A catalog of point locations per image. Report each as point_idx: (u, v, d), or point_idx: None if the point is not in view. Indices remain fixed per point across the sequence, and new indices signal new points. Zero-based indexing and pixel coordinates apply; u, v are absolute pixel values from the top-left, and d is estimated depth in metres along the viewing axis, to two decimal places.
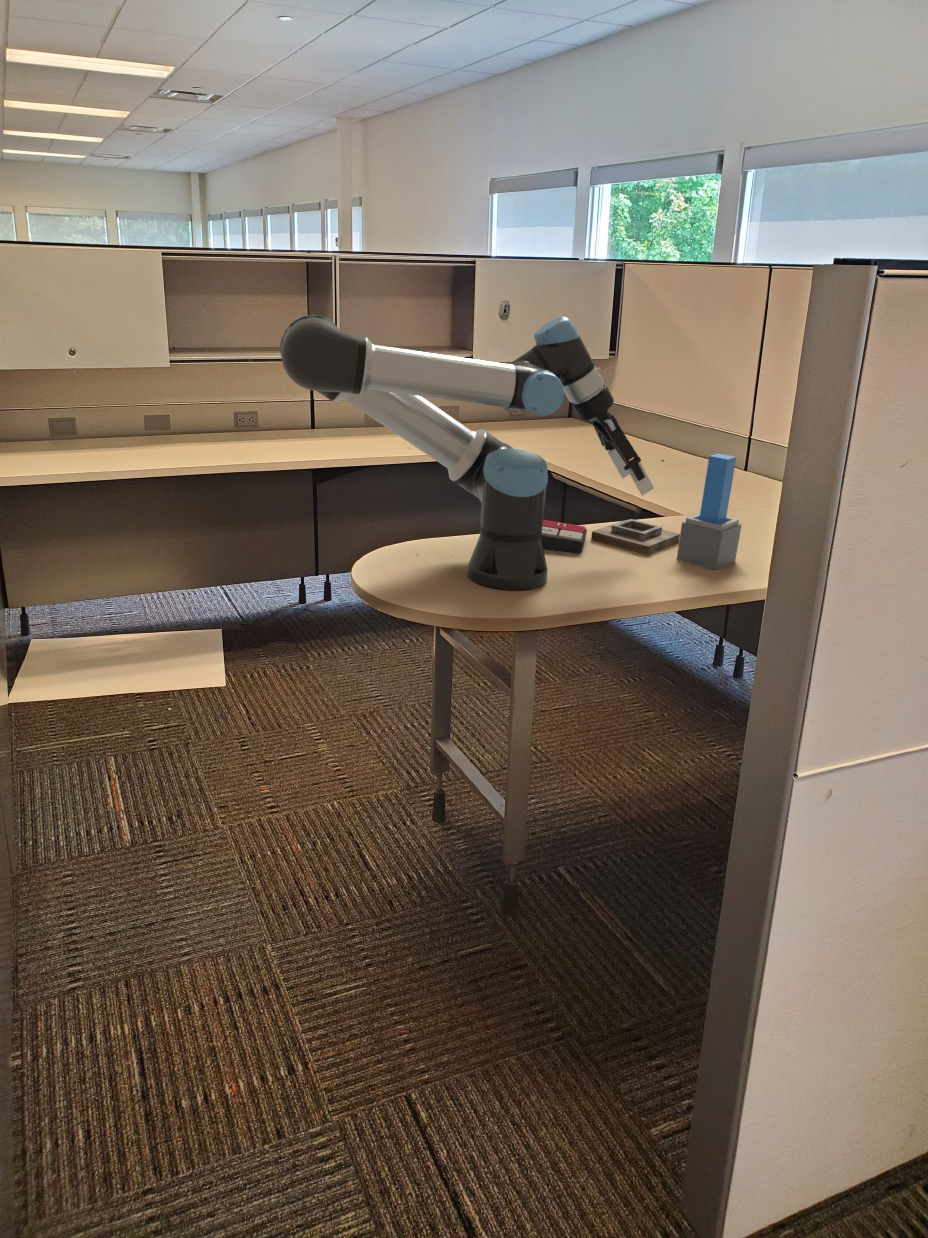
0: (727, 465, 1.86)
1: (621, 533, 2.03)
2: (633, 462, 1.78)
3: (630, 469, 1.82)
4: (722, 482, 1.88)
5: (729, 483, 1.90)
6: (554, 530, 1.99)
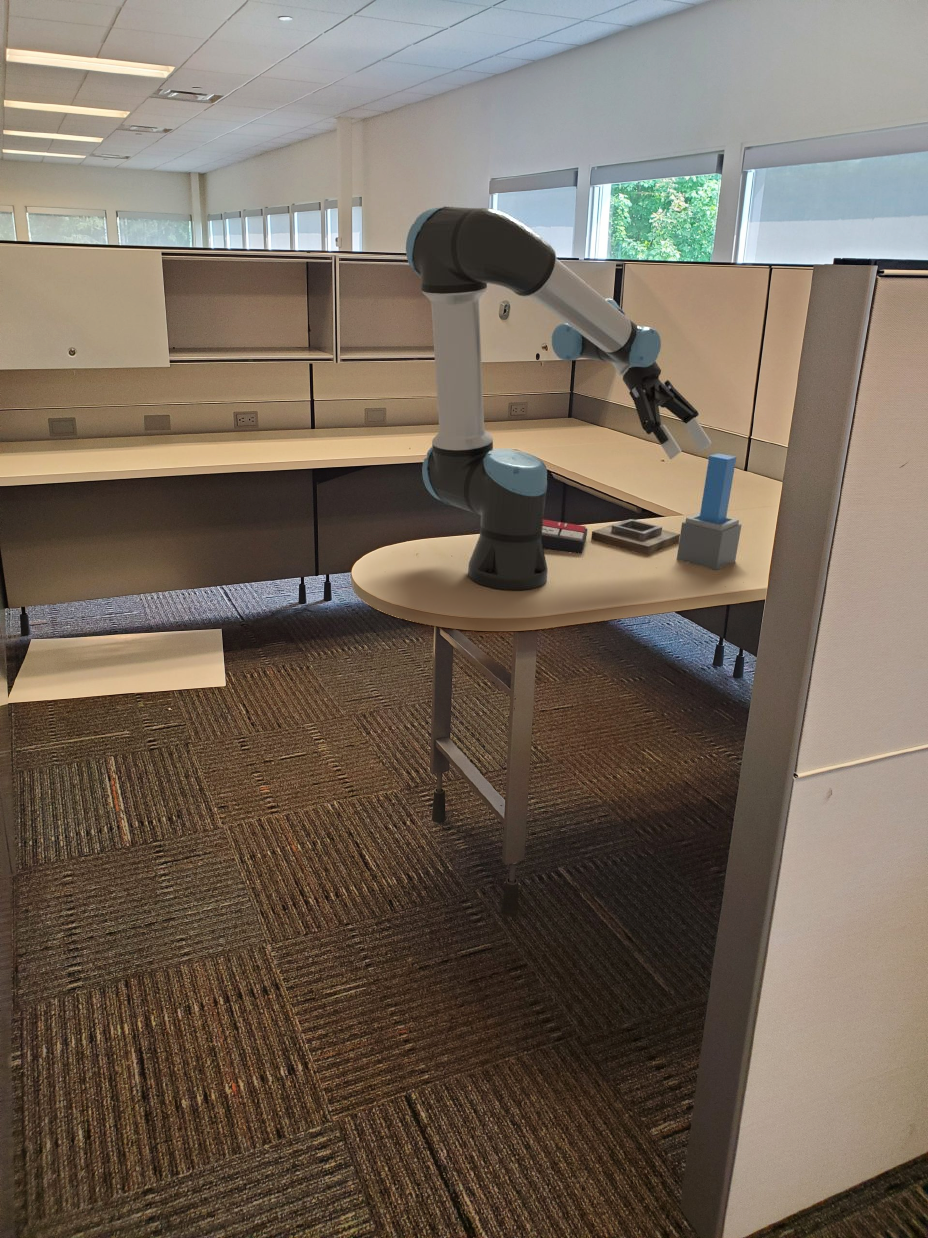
0: (727, 465, 1.86)
1: (621, 533, 2.03)
2: (646, 424, 1.87)
3: None
4: (722, 482, 1.88)
5: (729, 483, 1.90)
6: (555, 530, 1.99)
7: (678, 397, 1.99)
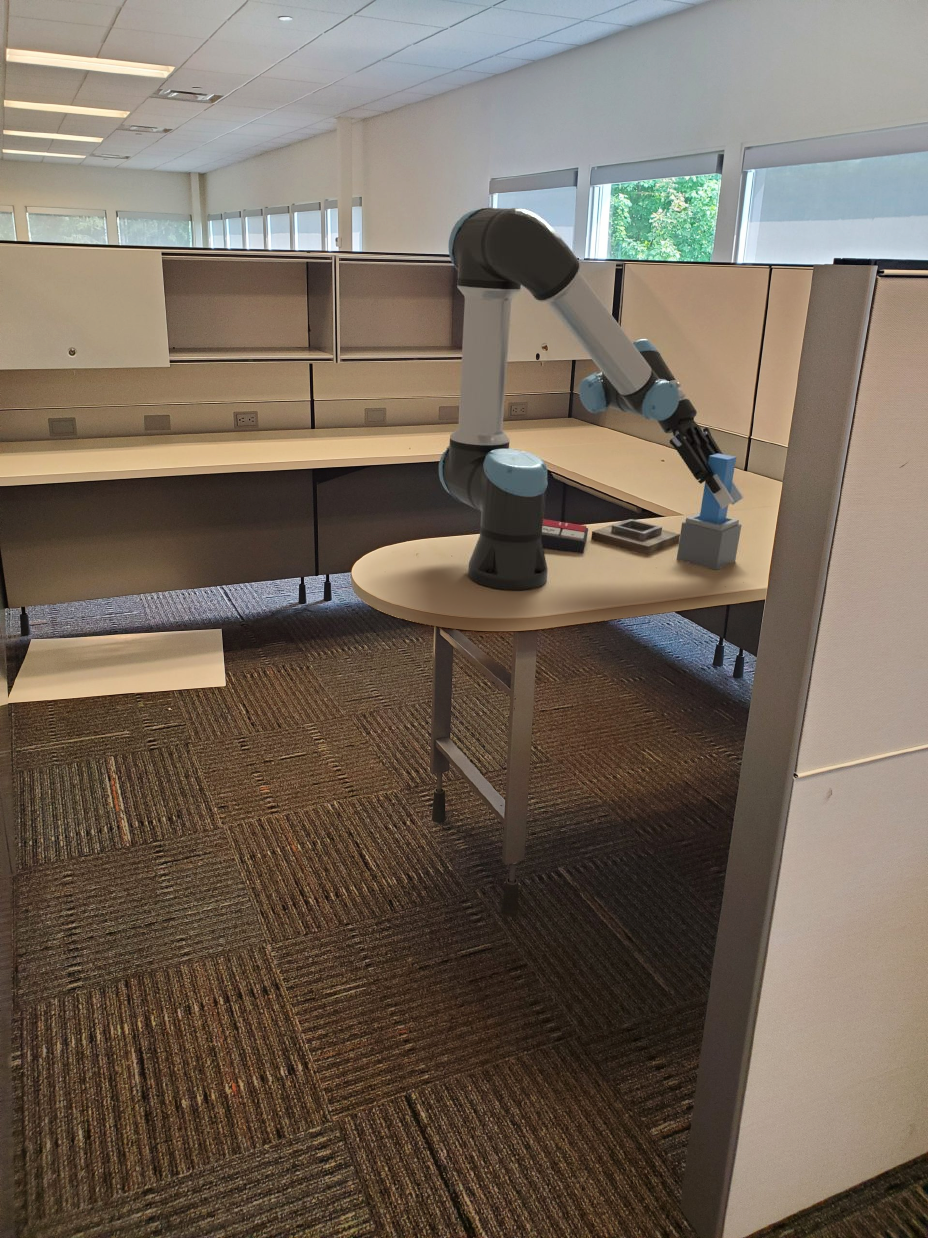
0: (727, 465, 1.86)
1: (621, 533, 2.03)
2: (699, 475, 1.87)
3: None
4: (722, 482, 1.88)
5: (729, 483, 1.90)
6: (556, 530, 1.99)
7: (712, 444, 1.94)
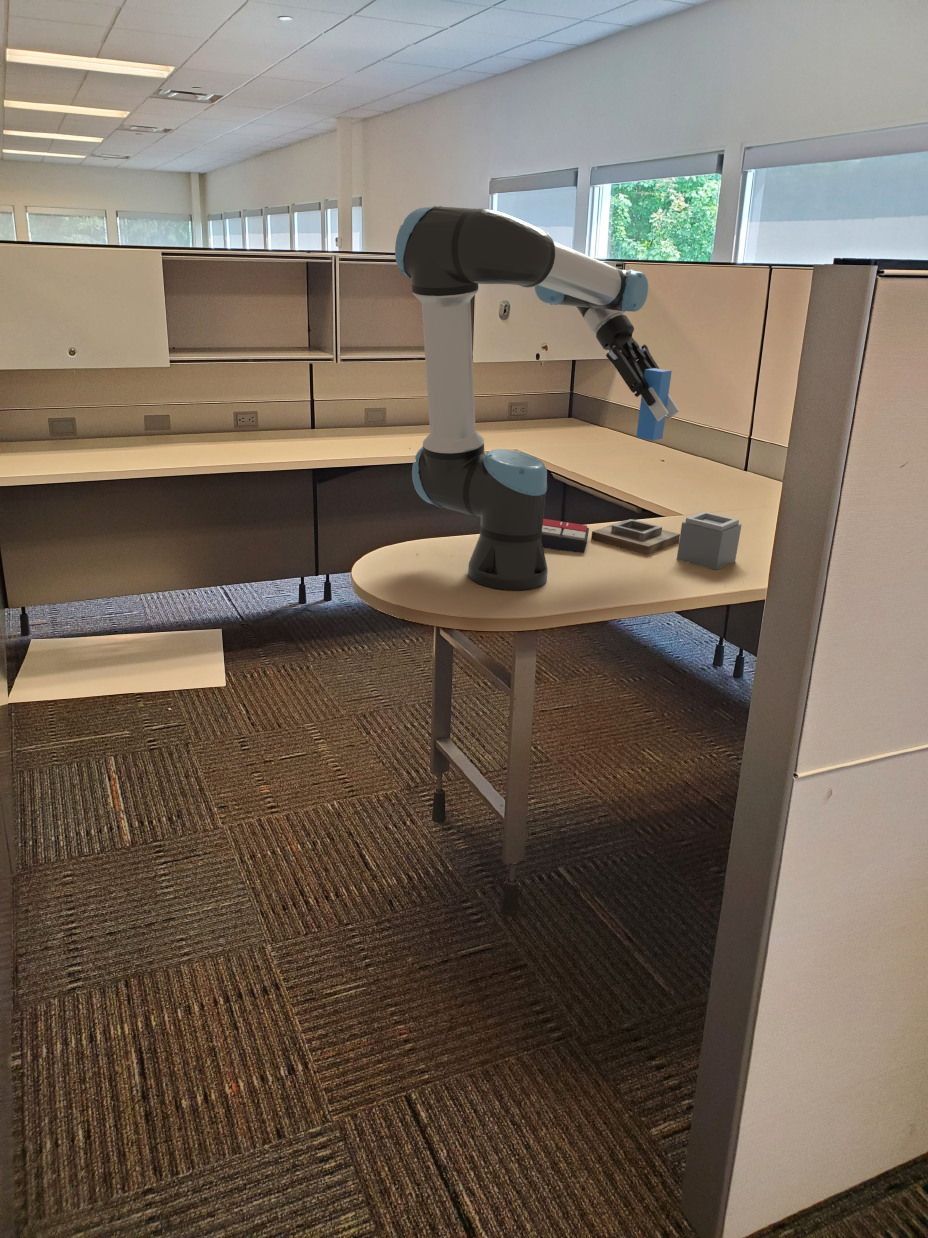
0: (662, 378, 1.91)
1: (621, 533, 2.03)
2: (634, 388, 1.91)
3: None
4: None
5: (665, 397, 1.94)
6: (557, 529, 1.99)
7: (650, 361, 1.98)
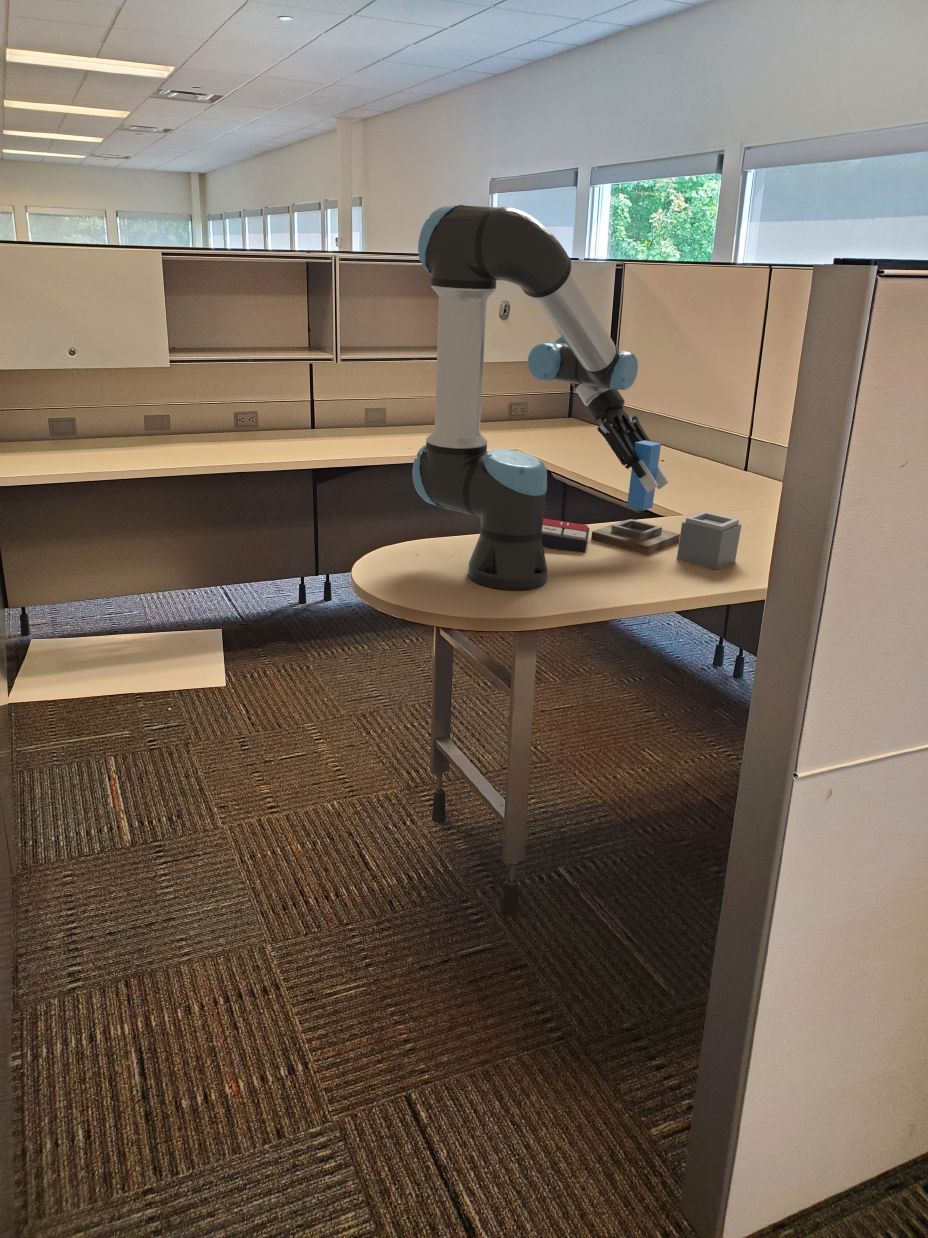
0: (651, 451, 1.96)
1: (621, 533, 2.03)
2: (625, 461, 1.97)
3: None
4: None
5: (654, 468, 2.00)
6: (558, 529, 1.99)
7: (640, 432, 2.04)
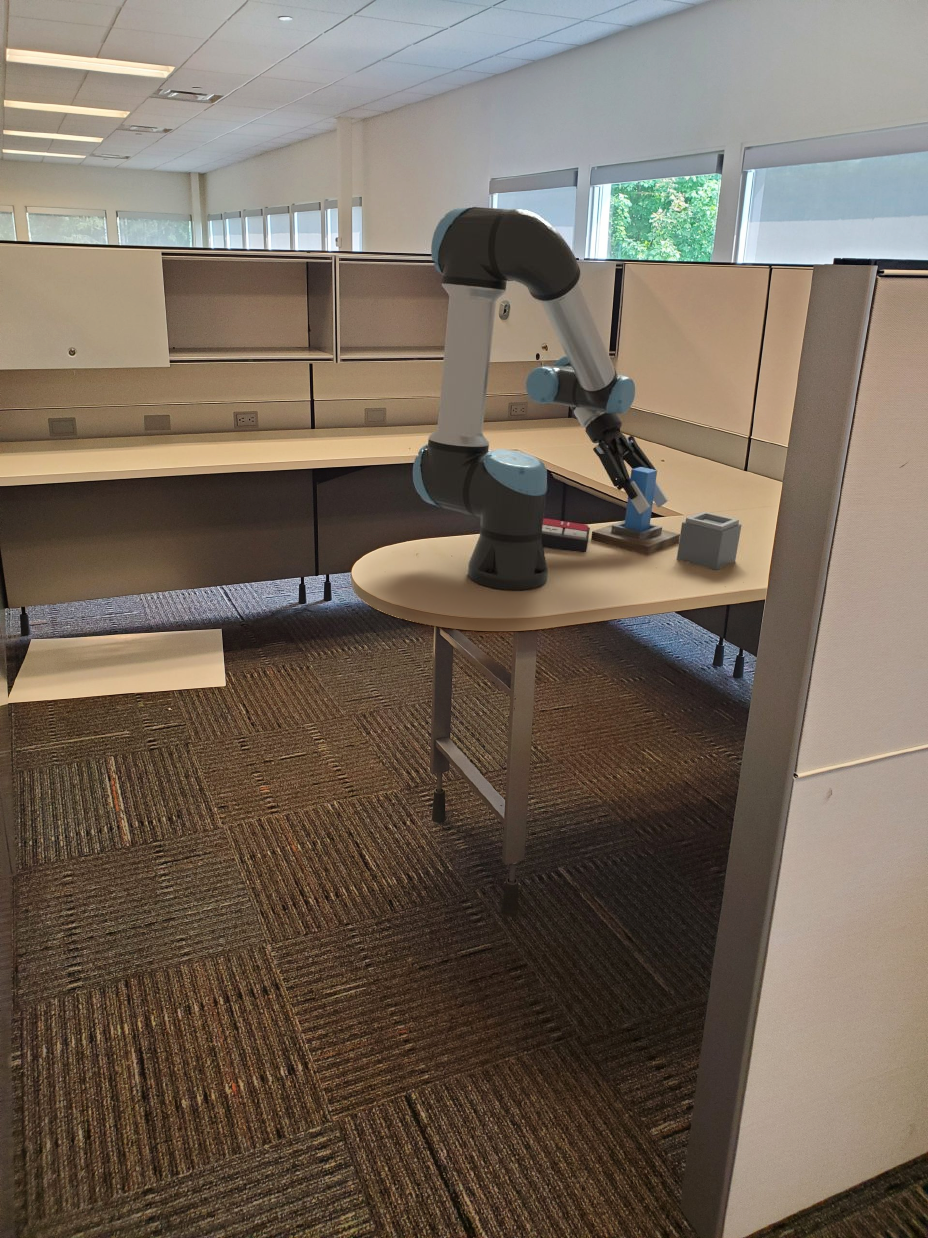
0: (647, 478, 1.99)
1: (621, 533, 2.03)
2: (616, 482, 1.97)
3: None
4: (643, 494, 2.00)
5: (651, 495, 2.02)
6: (558, 529, 2.00)
7: (638, 452, 2.06)
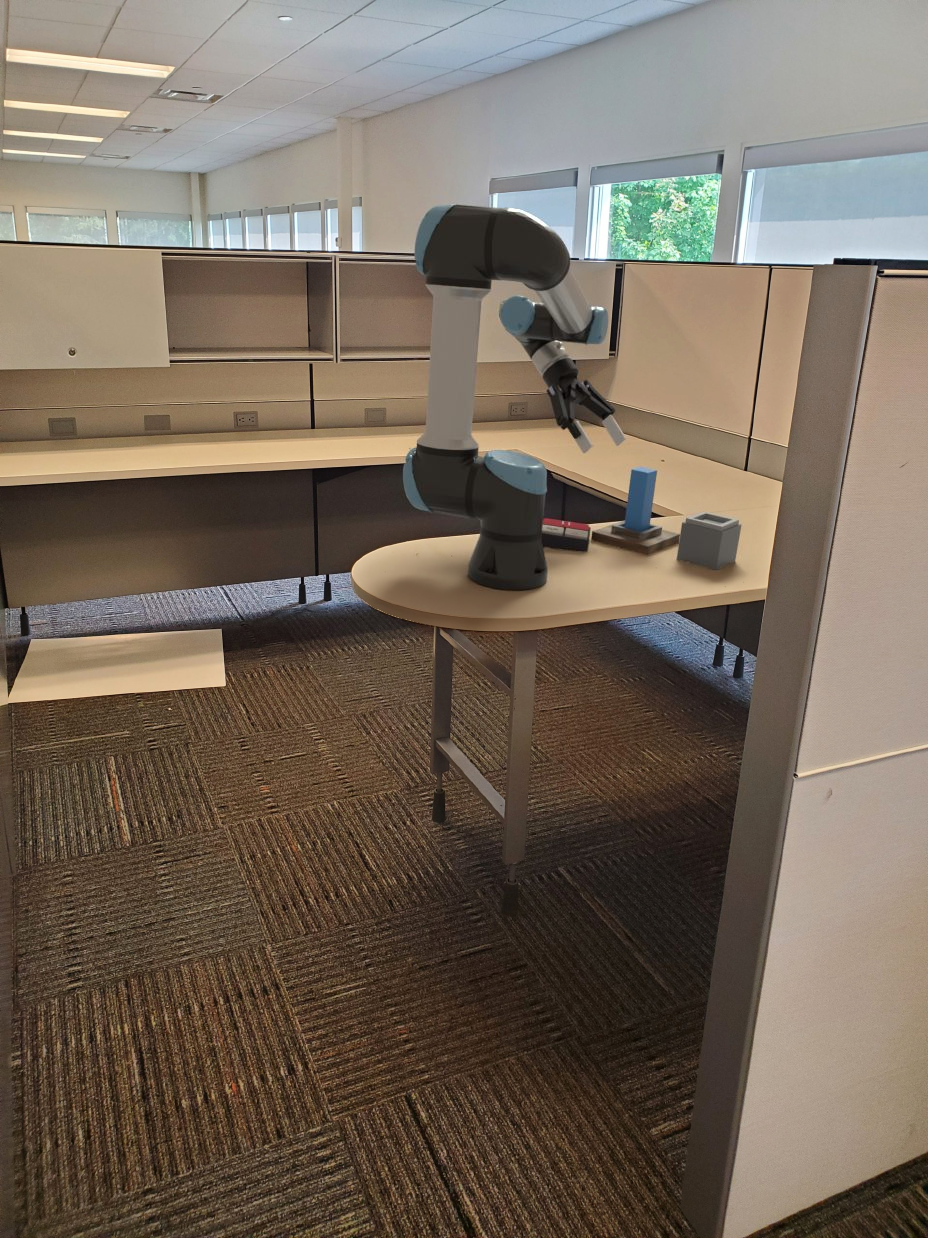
0: (647, 478, 1.99)
1: (621, 533, 2.03)
2: (559, 420, 1.99)
3: None
4: (643, 494, 2.00)
5: (651, 495, 2.02)
6: (560, 529, 2.00)
7: (596, 395, 2.11)
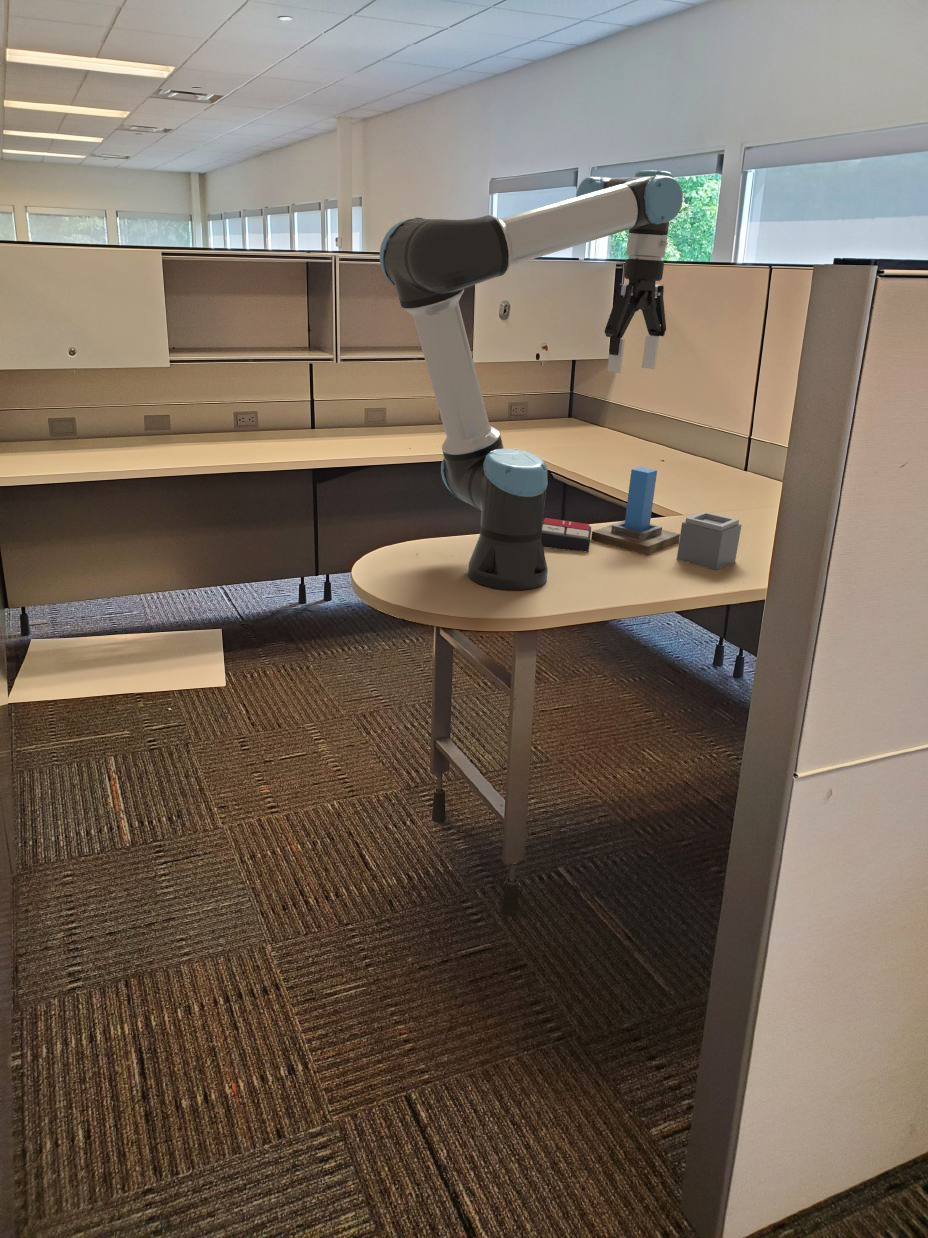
0: (647, 478, 1.99)
1: (621, 533, 2.03)
2: (609, 330, 1.80)
3: None
4: (643, 494, 2.00)
5: (651, 495, 2.02)
6: (561, 528, 2.00)
7: (659, 307, 1.91)
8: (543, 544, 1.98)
